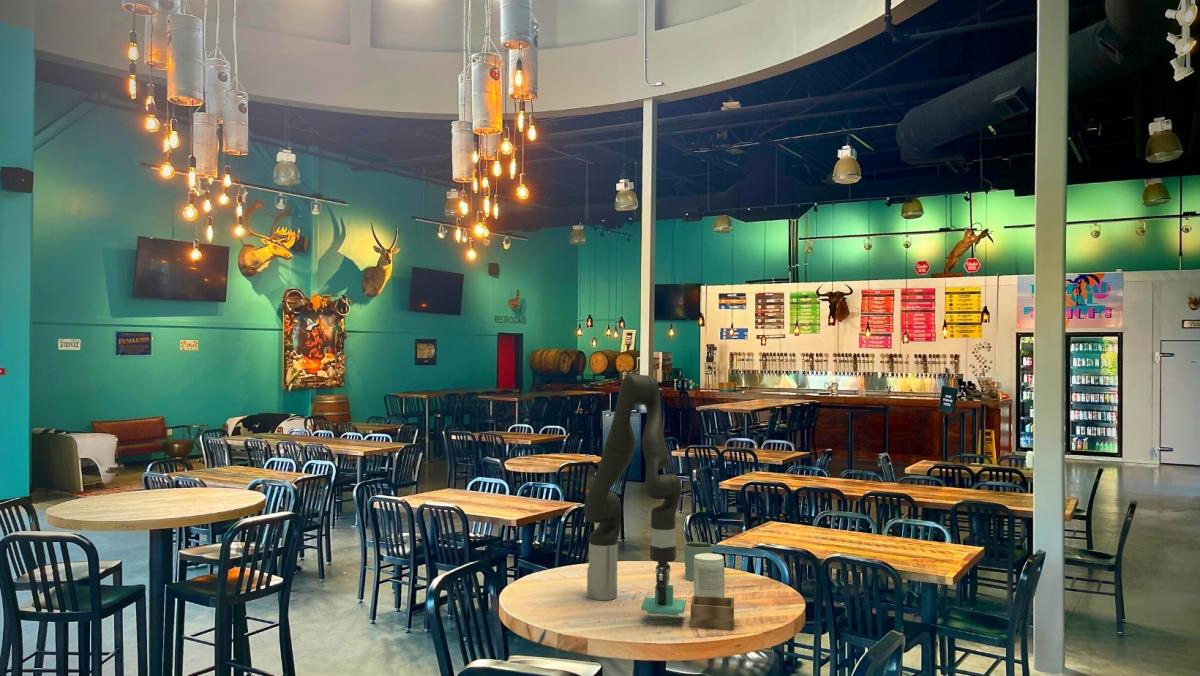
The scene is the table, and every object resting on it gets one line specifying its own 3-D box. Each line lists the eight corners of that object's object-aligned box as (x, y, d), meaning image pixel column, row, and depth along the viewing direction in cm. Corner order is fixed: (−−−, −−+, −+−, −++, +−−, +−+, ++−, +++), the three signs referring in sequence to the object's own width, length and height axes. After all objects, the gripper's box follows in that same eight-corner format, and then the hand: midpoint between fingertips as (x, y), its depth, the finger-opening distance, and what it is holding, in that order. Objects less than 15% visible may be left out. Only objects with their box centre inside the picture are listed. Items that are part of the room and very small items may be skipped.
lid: (641, 614, 236) (641, 589, 236) (645, 604, 246) (645, 580, 246) (683, 617, 234) (683, 592, 234) (685, 607, 244) (686, 583, 244)
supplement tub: (730, 604, 259) (731, 557, 259) (707, 609, 254) (707, 561, 254) (710, 597, 267) (710, 551, 267) (687, 601, 262) (687, 555, 262)
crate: (690, 630, 234) (690, 605, 234) (692, 619, 244) (692, 595, 244) (733, 632, 232) (733, 607, 232) (733, 621, 242) (734, 597, 242)
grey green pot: (677, 578, 290) (677, 543, 290) (696, 573, 297) (696, 539, 297) (699, 584, 282) (700, 548, 283) (718, 579, 289) (718, 544, 290)
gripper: (652, 537, 248) (652, 595, 247) (647, 548, 234) (647, 609, 234) (677, 538, 247) (677, 597, 246) (674, 549, 233) (673, 611, 232)
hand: (662, 602), depth 240 cm, fingers closed on lid, 3 cm apart
